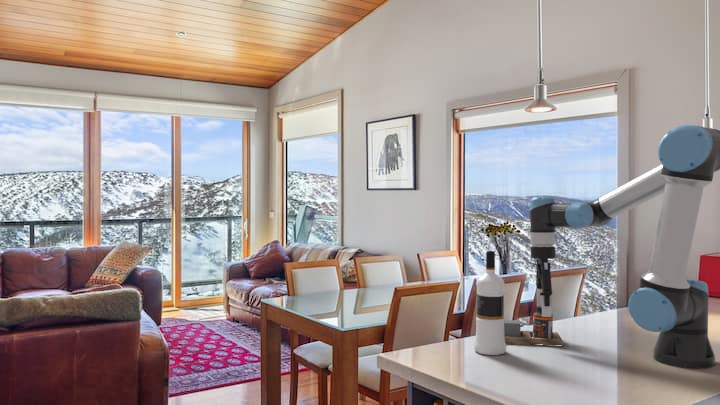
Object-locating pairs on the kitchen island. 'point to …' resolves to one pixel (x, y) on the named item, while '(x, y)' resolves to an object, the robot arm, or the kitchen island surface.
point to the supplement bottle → (542, 324)
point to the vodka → (490, 311)
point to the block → (512, 328)
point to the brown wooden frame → (533, 339)
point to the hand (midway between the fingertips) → (544, 312)
